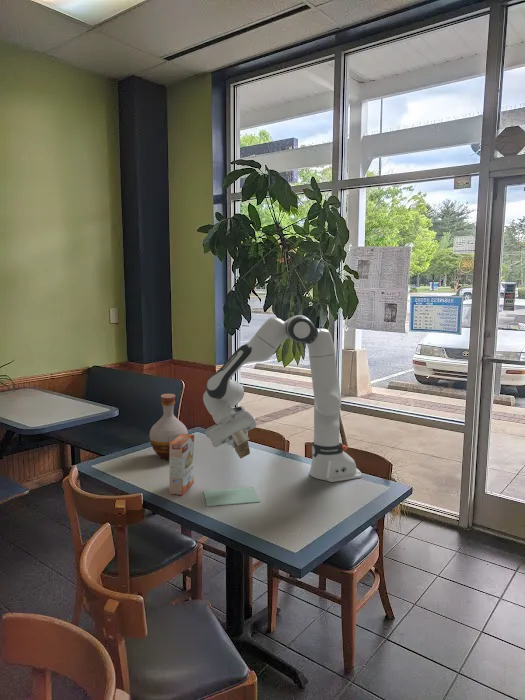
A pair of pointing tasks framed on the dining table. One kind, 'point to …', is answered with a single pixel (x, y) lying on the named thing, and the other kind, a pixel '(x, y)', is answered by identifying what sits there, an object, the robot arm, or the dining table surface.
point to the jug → (166, 428)
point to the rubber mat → (231, 496)
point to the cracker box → (181, 463)
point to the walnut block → (241, 444)
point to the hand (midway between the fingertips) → (241, 443)
